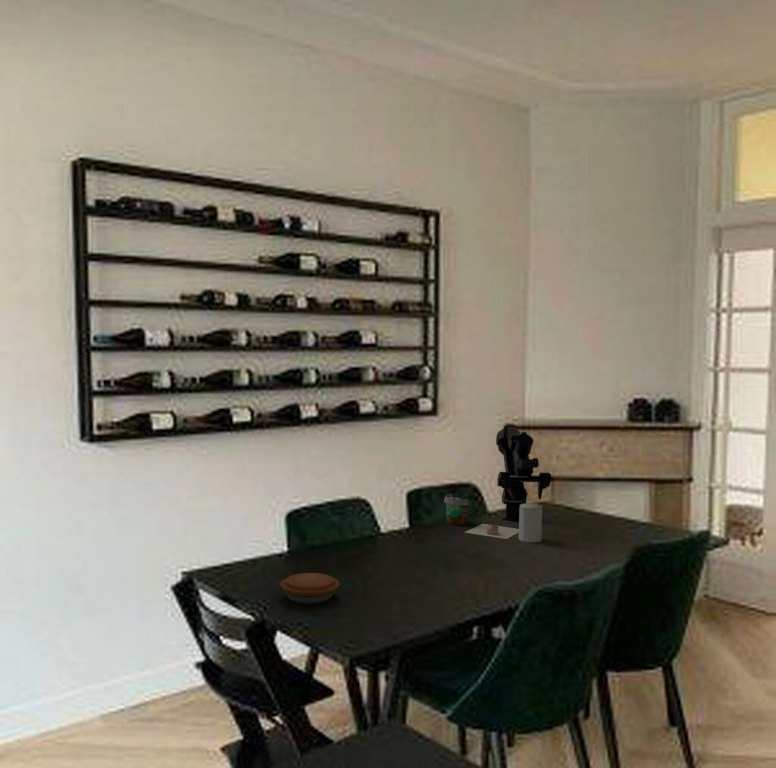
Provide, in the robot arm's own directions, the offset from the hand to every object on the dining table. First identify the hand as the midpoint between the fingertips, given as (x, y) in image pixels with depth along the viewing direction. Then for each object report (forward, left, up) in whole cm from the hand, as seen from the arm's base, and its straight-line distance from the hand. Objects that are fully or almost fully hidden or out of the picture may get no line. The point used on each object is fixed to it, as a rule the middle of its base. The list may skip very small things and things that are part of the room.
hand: (527, 499), depth 272 cm
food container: (-1, -29, -13) cm, 32 cm away
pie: (+96, -23, -13) cm, 99 cm away
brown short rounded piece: (+6, -10, -13) cm, 17 cm away
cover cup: (+6, +4, -13) cm, 15 cm away
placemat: (+2, -11, -13) cm, 17 cm away
